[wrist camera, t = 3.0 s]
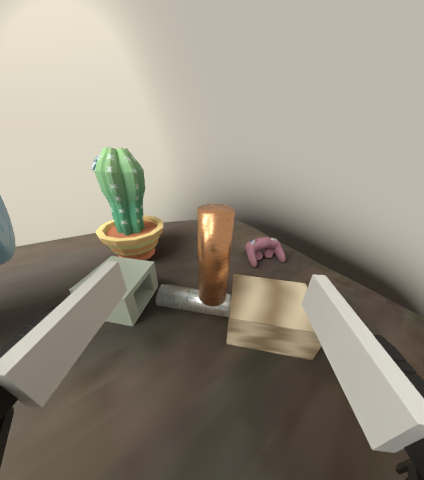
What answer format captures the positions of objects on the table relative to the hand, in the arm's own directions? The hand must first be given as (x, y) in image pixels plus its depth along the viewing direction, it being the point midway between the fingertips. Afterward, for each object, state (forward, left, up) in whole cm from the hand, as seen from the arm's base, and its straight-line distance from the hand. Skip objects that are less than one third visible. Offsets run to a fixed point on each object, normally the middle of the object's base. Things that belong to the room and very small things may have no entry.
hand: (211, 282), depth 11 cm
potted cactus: (-30, +18, -17) cm, 39 cm away
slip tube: (-2, +10, -16) cm, 19 cm away
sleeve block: (+5, +12, -17) cm, 21 cm away
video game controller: (+2, +30, -17) cm, 35 cm away
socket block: (-20, +5, -17) cm, 27 cm away
